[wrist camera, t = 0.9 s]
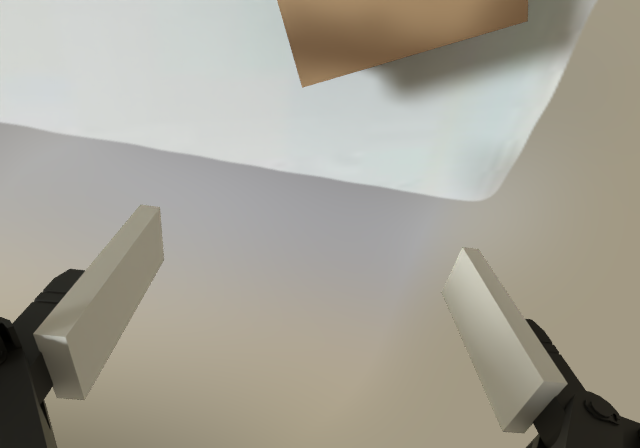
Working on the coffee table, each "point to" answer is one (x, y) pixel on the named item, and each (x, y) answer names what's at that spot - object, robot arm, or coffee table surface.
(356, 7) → the stool
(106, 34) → the coffee table surface
